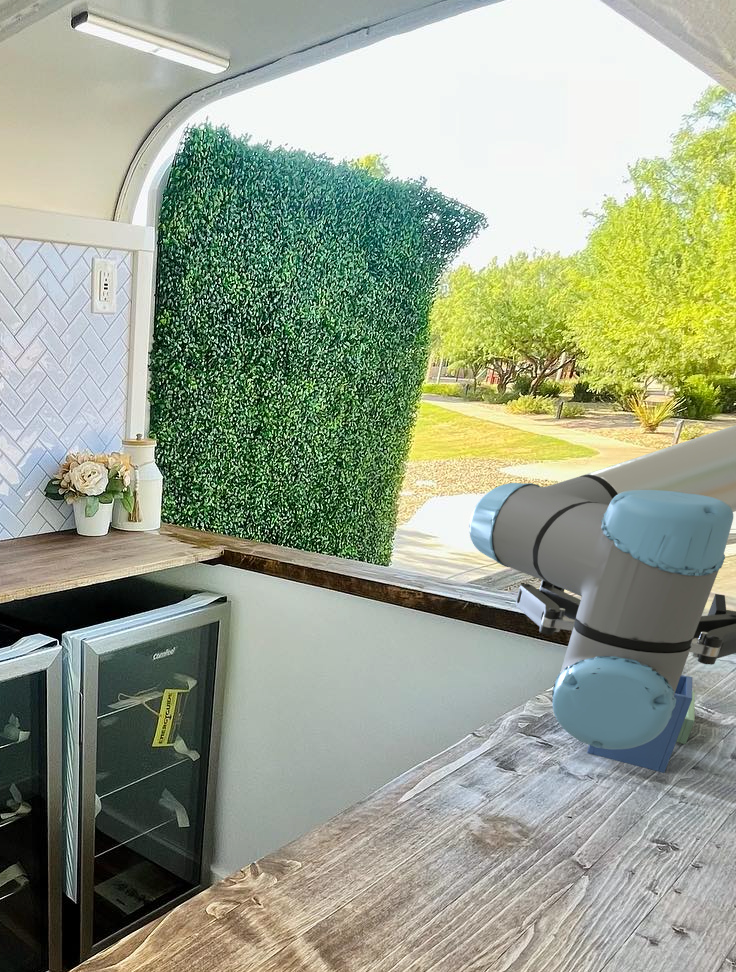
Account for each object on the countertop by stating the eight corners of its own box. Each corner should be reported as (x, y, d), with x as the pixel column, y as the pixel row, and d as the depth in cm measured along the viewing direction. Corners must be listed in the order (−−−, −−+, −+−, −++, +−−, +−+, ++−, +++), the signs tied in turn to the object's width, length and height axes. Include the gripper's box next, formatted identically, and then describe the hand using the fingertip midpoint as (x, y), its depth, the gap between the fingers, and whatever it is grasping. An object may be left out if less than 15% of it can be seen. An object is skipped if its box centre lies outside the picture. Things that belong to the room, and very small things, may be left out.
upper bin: (664, 752, 102) (692, 676, 97) (662, 776, 96) (692, 698, 92) (591, 733, 106) (615, 661, 102) (586, 756, 101) (610, 681, 96)
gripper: (460, 657, 78) (498, 604, 93) (793, 728, 64) (775, 652, 79) (477, 587, 75) (513, 544, 91) (829, 645, 61) (803, 582, 76)
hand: (635, 594), depth 85 cm, fingers open, 13 cm apart
